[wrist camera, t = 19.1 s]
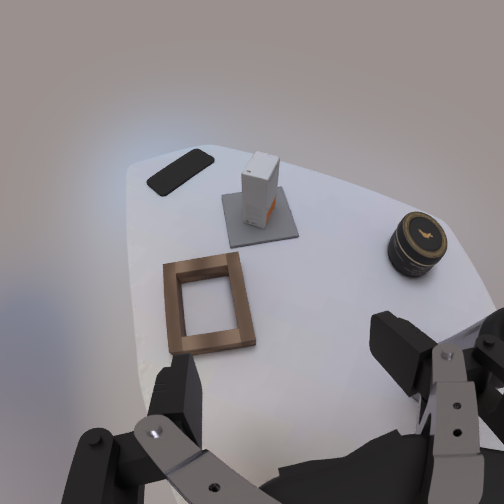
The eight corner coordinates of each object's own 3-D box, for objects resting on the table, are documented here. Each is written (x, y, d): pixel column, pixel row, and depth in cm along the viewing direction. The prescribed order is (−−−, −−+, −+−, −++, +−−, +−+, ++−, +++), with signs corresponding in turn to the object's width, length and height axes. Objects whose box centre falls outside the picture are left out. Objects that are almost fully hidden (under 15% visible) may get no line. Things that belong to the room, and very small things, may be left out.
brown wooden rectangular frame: (239, 262, 46) (238, 251, 43) (255, 344, 39) (255, 339, 36) (168, 274, 45) (163, 264, 42) (175, 356, 38) (169, 352, 35)
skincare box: (265, 230, 49) (267, 181, 39) (242, 222, 50) (239, 173, 39) (276, 205, 52) (280, 156, 41) (255, 199, 53) (255, 150, 42)
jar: (434, 278, 44) (456, 257, 37) (393, 282, 44) (412, 260, 37) (419, 234, 49) (436, 210, 43) (379, 234, 49) (393, 209, 42)
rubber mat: (281, 188, 55) (281, 186, 54) (298, 237, 49) (298, 235, 48) (221, 197, 54) (221, 195, 53) (230, 248, 48) (230, 246, 47)
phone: (216, 159, 59) (162, 196, 54) (217, 162, 60) (163, 199, 54) (196, 147, 62) (144, 181, 56) (196, 149, 63) (145, 183, 57)
